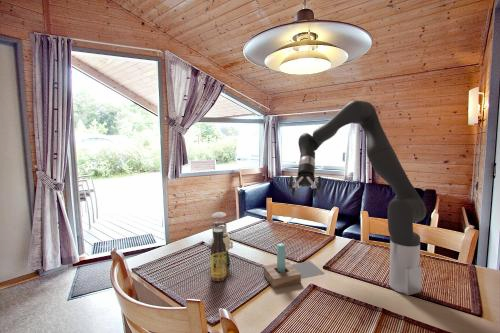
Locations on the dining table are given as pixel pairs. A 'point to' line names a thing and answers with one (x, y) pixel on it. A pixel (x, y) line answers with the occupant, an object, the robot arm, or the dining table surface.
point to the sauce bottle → (218, 256)
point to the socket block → (282, 275)
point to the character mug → (227, 242)
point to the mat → (307, 269)
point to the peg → (280, 258)
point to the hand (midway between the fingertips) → (303, 196)
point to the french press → (218, 222)
